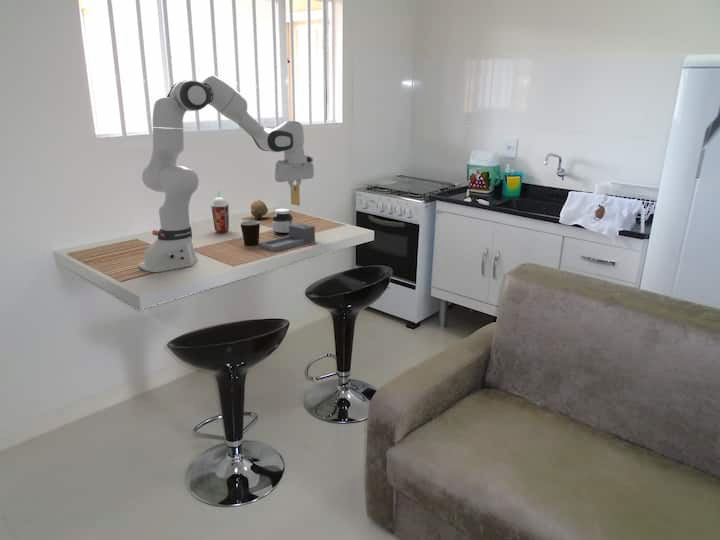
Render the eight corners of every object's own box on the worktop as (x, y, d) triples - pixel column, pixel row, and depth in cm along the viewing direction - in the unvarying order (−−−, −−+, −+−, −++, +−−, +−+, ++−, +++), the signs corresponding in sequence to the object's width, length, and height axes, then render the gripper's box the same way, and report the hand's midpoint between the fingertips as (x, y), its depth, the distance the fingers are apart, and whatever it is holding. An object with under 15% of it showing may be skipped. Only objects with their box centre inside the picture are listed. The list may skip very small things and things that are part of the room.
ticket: (298, 205, 240) (297, 185, 237) (291, 204, 243) (290, 184, 240) (299, 205, 240) (299, 185, 238) (292, 204, 244) (291, 184, 241)
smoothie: (234, 231, 267) (231, 191, 260) (221, 234, 260) (218, 193, 254) (222, 228, 271) (219, 189, 265) (209, 232, 264) (206, 192, 258)
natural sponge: (270, 216, 297) (269, 199, 294) (265, 220, 289) (264, 202, 286) (254, 216, 298) (253, 198, 295) (249, 219, 290) (247, 201, 287)
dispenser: (274, 251, 232) (273, 234, 230) (260, 247, 238) (259, 231, 236) (314, 241, 249) (314, 225, 246) (300, 237, 255) (300, 221, 253)
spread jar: (283, 236, 257) (282, 212, 253) (264, 233, 262) (263, 210, 258) (298, 231, 266) (297, 208, 263) (280, 228, 272) (279, 205, 268)
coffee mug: (256, 247, 239) (255, 225, 236) (238, 246, 240) (237, 224, 237) (266, 240, 250) (265, 219, 246) (249, 239, 251) (247, 218, 248)
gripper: (280, 161, 226) (281, 193, 230) (315, 158, 241) (316, 188, 245) (271, 159, 230) (272, 191, 234) (306, 156, 245) (306, 187, 249)
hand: (294, 190), depth 240 cm, fingers closed on ticket, 1 cm apart
